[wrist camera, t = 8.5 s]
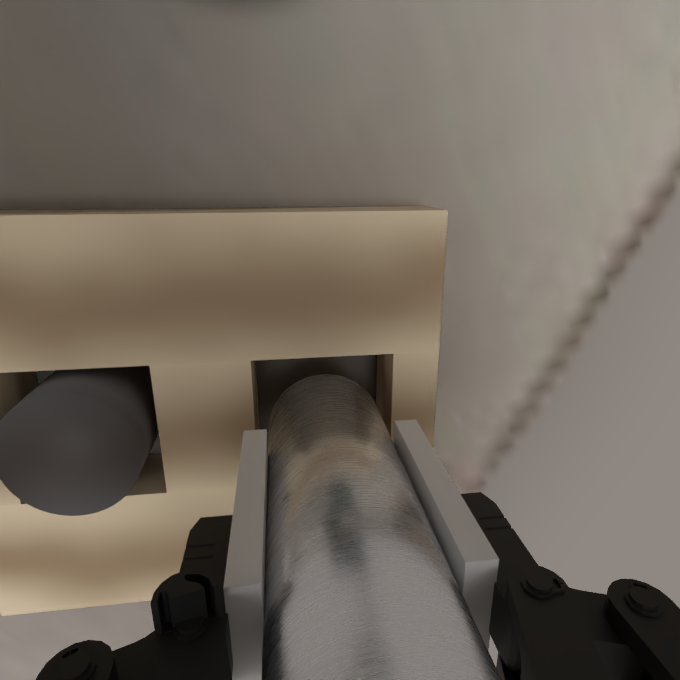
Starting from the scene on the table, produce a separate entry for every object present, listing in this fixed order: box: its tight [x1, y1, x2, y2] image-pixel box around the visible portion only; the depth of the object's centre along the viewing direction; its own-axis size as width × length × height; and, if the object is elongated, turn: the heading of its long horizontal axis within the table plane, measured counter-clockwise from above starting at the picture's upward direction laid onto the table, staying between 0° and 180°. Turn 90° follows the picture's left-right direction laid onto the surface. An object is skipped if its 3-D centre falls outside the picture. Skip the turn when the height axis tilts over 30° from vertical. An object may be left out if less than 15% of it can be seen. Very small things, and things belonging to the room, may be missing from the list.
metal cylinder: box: [262, 374, 501, 680], centre depth 13 cm, size 4×4×12 cm
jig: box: [0, 206, 448, 616], centre depth 19 cm, size 16×18×4 cm
